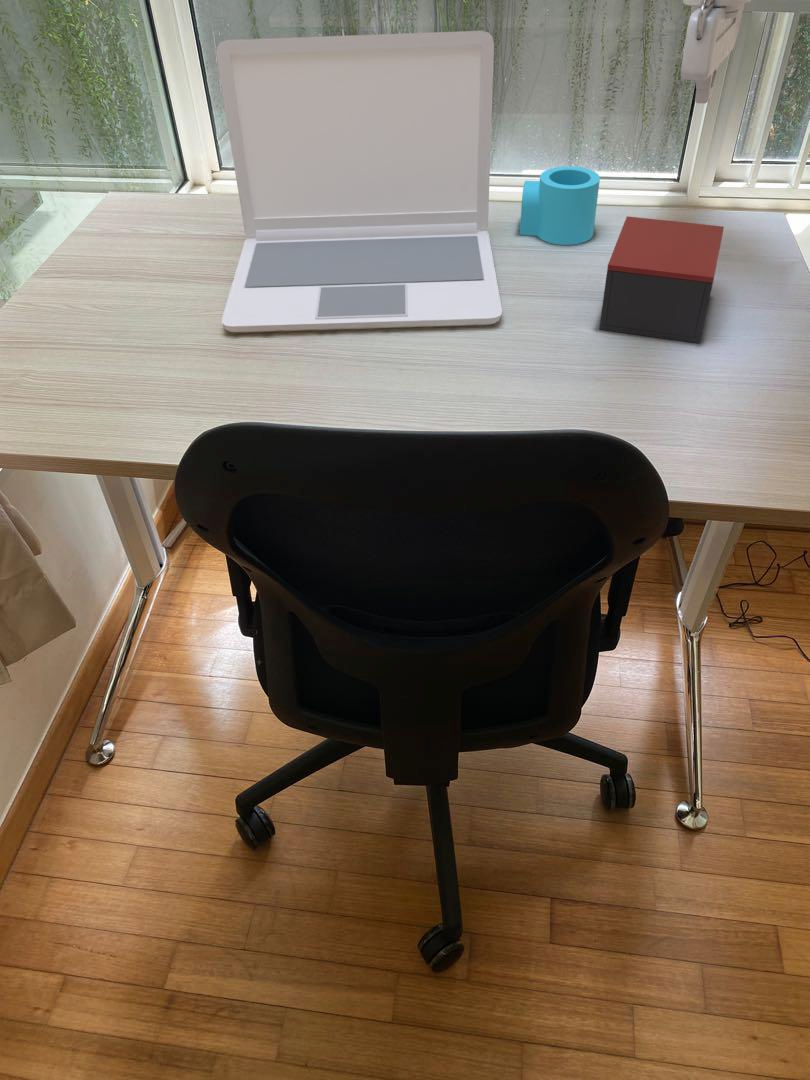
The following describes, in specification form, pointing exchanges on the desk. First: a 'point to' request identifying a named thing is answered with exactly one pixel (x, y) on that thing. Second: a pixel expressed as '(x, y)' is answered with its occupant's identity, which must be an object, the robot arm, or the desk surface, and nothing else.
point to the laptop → (361, 181)
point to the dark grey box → (654, 306)
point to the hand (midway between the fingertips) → (703, 100)
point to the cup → (560, 205)
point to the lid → (667, 249)
